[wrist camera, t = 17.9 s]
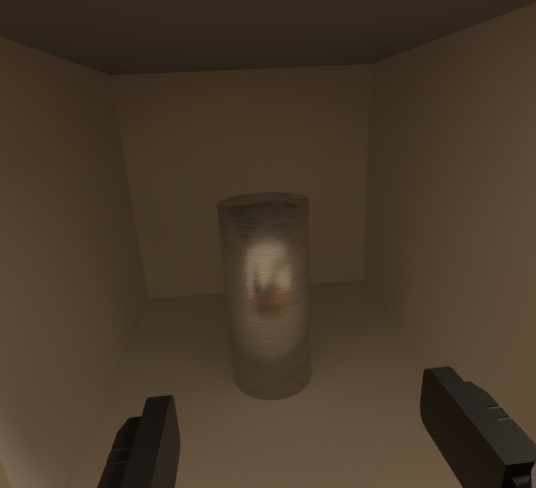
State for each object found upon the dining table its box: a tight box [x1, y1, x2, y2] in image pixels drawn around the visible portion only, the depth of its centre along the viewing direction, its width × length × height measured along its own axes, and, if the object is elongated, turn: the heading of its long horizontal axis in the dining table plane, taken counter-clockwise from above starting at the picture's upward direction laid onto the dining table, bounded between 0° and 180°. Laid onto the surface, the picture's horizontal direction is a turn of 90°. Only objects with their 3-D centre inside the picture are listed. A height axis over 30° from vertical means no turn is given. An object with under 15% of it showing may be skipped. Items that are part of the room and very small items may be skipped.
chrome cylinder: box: [216, 192, 312, 400], centre depth 24 cm, size 5×5×12 cm
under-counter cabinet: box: [0, 0, 536, 488], centre depth 24 cm, size 25×25×24 cm
